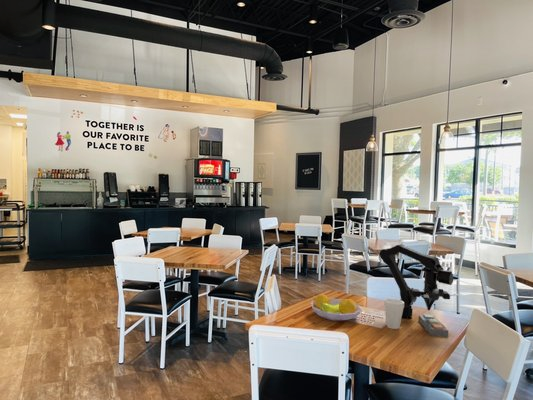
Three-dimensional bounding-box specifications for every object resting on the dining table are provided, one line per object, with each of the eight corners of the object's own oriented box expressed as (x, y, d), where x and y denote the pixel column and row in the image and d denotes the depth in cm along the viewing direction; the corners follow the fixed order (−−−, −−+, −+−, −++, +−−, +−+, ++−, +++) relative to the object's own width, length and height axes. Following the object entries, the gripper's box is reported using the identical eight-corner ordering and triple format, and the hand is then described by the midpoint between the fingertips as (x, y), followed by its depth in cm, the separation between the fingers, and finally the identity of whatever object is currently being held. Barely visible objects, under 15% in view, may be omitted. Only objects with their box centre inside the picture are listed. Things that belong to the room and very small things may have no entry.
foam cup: (402, 324, 196) (404, 300, 195) (402, 331, 187) (404, 305, 186) (383, 322, 199) (384, 297, 198) (382, 328, 190) (384, 302, 189)
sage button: (429, 325, 191) (430, 321, 191) (427, 322, 195) (427, 318, 195) (438, 325, 191) (438, 322, 190) (435, 322, 195) (435, 319, 194)
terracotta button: (434, 330, 184) (434, 326, 184) (431, 327, 188) (432, 323, 188) (443, 331, 184) (443, 327, 184) (440, 327, 188) (440, 324, 188)
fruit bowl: (335, 305, 223) (336, 286, 222) (371, 320, 200) (372, 299, 200) (297, 313, 207) (298, 292, 207) (332, 330, 185) (333, 307, 184)
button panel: (430, 335, 183) (431, 329, 183) (418, 320, 203) (418, 315, 203) (448, 336, 182) (448, 330, 182) (434, 321, 202) (434, 316, 202)
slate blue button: (425, 320, 198) (425, 316, 198) (423, 317, 202) (423, 314, 202) (433, 320, 198) (433, 317, 197) (431, 318, 201) (431, 314, 201)
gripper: (416, 283, 192) (414, 313, 193) (455, 286, 190) (453, 316, 191) (410, 278, 203) (408, 306, 204) (447, 280, 201) (444, 309, 202)
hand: (428, 310), depth 200 cm, fingers closed
